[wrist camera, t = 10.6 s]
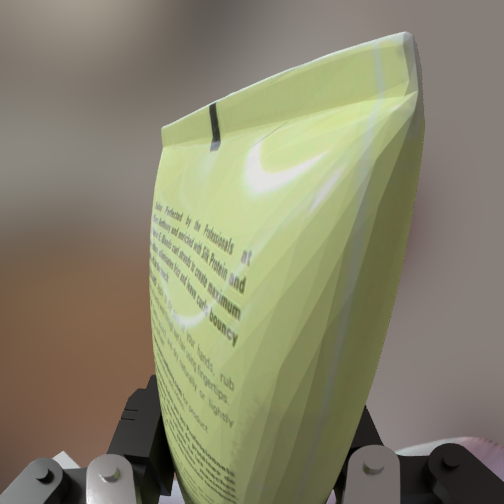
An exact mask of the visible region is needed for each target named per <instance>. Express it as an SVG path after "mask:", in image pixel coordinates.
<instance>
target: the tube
mask: <svg viewBox="0 0 504 504" xmlns="http://www.w3.org/2000/svg"><path fill="white" fill-rule="evenodd" d="M424 131H425V119H424V105H423V90H422V70H421V63H420V57H419V52H418V48H417V44H416V41H415V38H414V35H411V34H410V33H408V32H401V33H397V34H393V35H389V36H386V37H382V38H379V39H376V40H373V41H369V42H366V43H363V44H359V45H356V46H352V47H349V48H346V49H343V50H340V51H336V52H333V53H331V54H328V55H325V56H323V57H321V58H318V59H315V60H313V61H311V62H308V63H306V64H303V65H300V66H297V67H294V68H291V69H288V70H286V71H283V72H281V73H278V74H276V75H273V76H271V77H269V78H266V79H264V80H262V81H260V82H257V83H255V84H252V85H250V86H248V87H246V88H243V89H241V90H239V91H237V92H234V93H231V94H229V95H228V96H226V97H224V98H222V99H219V100H217V101H214V102H213V103H210V104H209V105H207V106H205V107H203V108H200V109H199V110H197V111H195V112H193V113H191V114H189V115H187V116H185V117H183V118H181V119H179V120H177V121H175V122H174V123H171V124H169V125H166V126H164V127H162V129H161V134H162V143H163V151H162V155H161V159H160V164H159V168H158V172H157V178H156V184H155V192H154V199H153V209H152V221H151V236H150V306H151V321H152V335H153V348H154V359H155V367H156V376H157V384H158V391H159V398H160V404H161V411H162V416H163V422H164V427H165V432H166V437H167V441H168V446H169V450H170V454H171V458H172V462H173V466H174V470H175V473H176V477H177V481H178V484H179V487H180V490H181V493H182V496H183V499H184V502H185V504H326V503H327V500H328V498H329V496H330V494H331V492H332V489H333V487H334V485H335V483H336V480H337V478H338V476H339V473H340V471H341V468H342V466H343V464H344V461H345V459H346V456H347V454H348V451H349V449H350V446H351V443H352V441H353V438H354V435H355V432H356V430H357V427H358V424H359V421H360V418H361V415H362V412H363V409H364V406H365V403H366V400H367V397H368V394H369V391H370V388H371V385H372V382H373V379H374V376H375V372H376V369H377V365H378V362H379V359H380V355H381V352H382V348H383V344H384V341H385V337H386V333H387V329H388V326H389V322H390V318H391V314H392V310H393V306H394V302H395V298H396V294H397V290H398V286H399V281H400V276H401V272H402V267H403V262H404V257H405V251H406V246H407V240H408V234H409V229H410V224H411V219H412V213H413V208H414V202H415V197H416V191H417V185H418V179H419V172H420V165H421V157H422V150H423V141H424Z"/></svg>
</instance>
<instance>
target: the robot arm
mask: <svg viewBox="0 0 504 504" xmlns="http://www.w3.org/2000/svg"><path fill="white" fill-rule="evenodd" d="M174 472H175V470H174V466H173V462H172V458H171V454H170V450H169V446H168V441H167V437H166V432H165V427H164V422H163V416H162V411H161V404H160V398H159V391H158V384H157V376H156V375H152V376H151V377H150V380H149V382H148V385H147V388H146V389H137V390H136V391H135V392H134V393H133V394H132V395H131V396H130V397H129V399H128V401H127V403H126V406H125V409H124V411H123V413H122V416H121V420H120V421H119V423H118V426H117V429H116V431H115V434H114V436H113V439H112V441H111V444H110V446H109V449H108V452H107V454H106V455H102V456H99V457H98V458H96V459H94V460H93V461H92V462H91V463H90V465H89V466H88V467H87V468H74V469H63V468H62V467H61V466H60V465H59V463H58V462H56V461H55V460H53V459H50V458H39V459H36V460H34V461H32V462H31V463H30V464H29V465H28V466H27V467H26V468H25V469H24V470H23V471H22V472H21V474H20V475H19V476H18V477H17V478H16V479H15V480H14V481H13V482H12V483H11V484H10V485H9V486H8V487H7V489H6V490H5V491H4V492H3V493H2V494H1V495H0V504H158V502H159V497H160V495H163V496H171V490H172V484H173V479H174ZM332 490H334V492H335V496H336V502H335V504H504V482H503V481H502V480H501V479H500V478H499V477H497V476H496V475H495V474H494V473H493V472H492V471H491V470H490V469H488V468H487V467H486V466H485V465H484V464H483V463H482V462H481V461H479V460H478V459H477V458H476V457H475V456H474V455H473V454H472V453H470V452H469V451H468V450H467V449H466V448H465V447H463V446H461V445H459V444H455V443H446V444H442V445H440V446H438V447H436V448H435V449H434V450H433V451H432V452H431V454H430V455H429V456H401V455H397V454H396V453H395V452H394V451H392V450H391V449H389V448H387V447H385V446H384V445H383V443H382V441H381V439H380V437H379V434H378V432H377V430H376V428H375V425H374V423H373V421H372V418H371V416H370V414H369V412H368V409H366V405H365V406H364V409H363V412H362V415H361V418H360V421H359V424H358V427H357V430H356V432H355V435H354V438H353V441H352V443H351V446H350V449H349V451H348V454H347V456H346V459H345V461H344V464H343V466H342V468H341V471H340V473H339V476H338V478H337V480H336V483H335V485H334V487H333V489H332Z"/></svg>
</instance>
